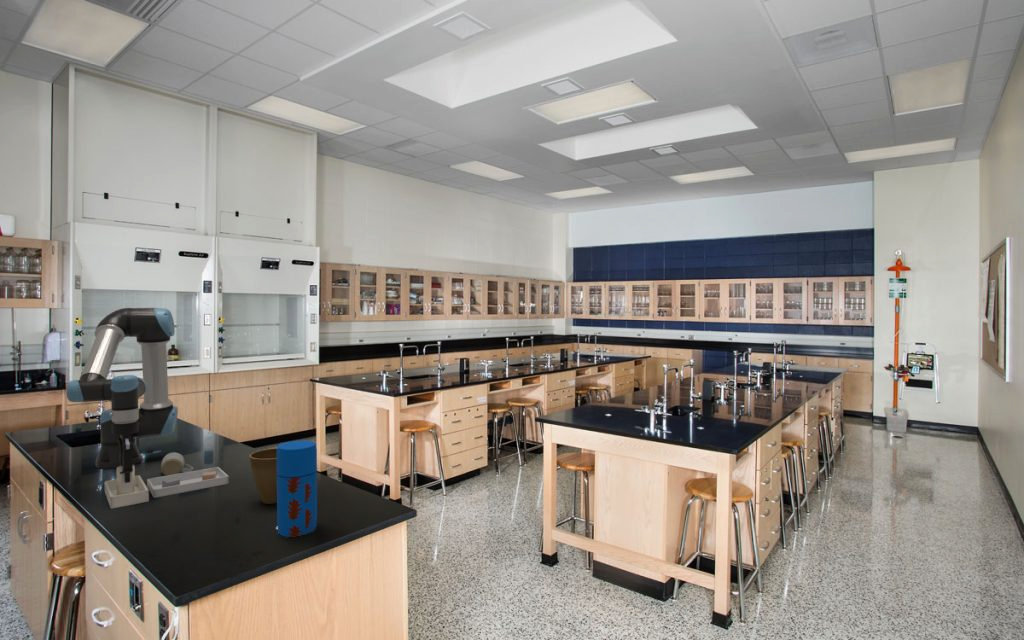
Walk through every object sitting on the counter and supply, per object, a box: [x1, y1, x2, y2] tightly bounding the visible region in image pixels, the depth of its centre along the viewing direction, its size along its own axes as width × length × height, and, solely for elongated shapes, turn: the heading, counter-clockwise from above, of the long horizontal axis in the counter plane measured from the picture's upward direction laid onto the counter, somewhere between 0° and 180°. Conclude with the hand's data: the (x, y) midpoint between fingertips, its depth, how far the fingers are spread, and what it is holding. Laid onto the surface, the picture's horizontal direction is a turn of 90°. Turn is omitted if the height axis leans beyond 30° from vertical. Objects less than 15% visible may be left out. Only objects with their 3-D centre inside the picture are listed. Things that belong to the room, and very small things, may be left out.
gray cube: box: [162, 478, 180, 488], centre depth 191 cm, size 4×4×4 cm
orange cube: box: [202, 471, 216, 481], centre depth 199 cm, size 4×4×4 cm
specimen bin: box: [104, 474, 150, 510], centre depth 186 cm, size 21×10×4 cm, turn 41°
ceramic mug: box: [160, 451, 194, 476], centre depth 213 cm, size 11×8×8 cm
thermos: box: [276, 440, 318, 537], centre depth 160 cm, size 11×11×25 cm
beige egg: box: [116, 464, 136, 495], centre depth 186 cm, size 5×5×9 cm
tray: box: [146, 466, 230, 499], centre depth 198 cm, size 15×23×3 cm, turn 131°
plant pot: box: [249, 447, 277, 505], centre depth 184 cm, size 15×15×16 cm
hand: (126, 489), depth 186 cm, fingers closed on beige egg, 5 cm apart
